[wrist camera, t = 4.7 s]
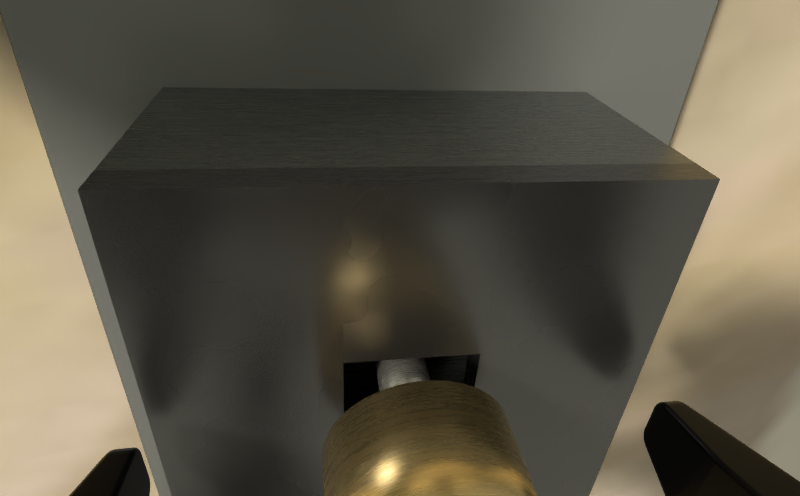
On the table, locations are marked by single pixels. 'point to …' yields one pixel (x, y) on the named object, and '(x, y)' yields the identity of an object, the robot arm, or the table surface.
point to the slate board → (327, 72)
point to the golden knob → (423, 441)
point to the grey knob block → (385, 267)
